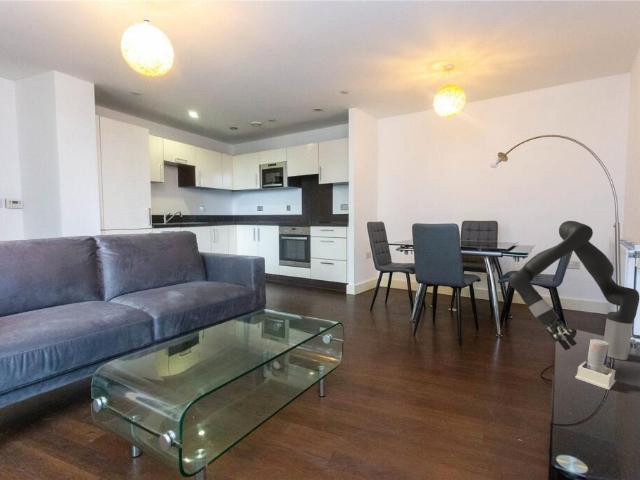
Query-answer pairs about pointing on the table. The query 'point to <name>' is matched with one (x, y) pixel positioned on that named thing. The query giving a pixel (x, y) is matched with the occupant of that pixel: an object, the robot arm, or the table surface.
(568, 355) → the table surface
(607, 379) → the can holder
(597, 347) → the beverage can
